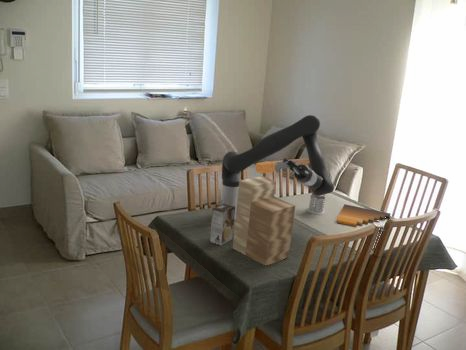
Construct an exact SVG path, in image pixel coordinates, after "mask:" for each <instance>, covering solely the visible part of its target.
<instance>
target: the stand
mask: <svg viewBox="0 0 466 350" xmlns="http://www.w3.org/2000/svg"><path fill="white" fill-rule="evenodd" d="M276 185H277V181H276V180H274V179H272V178H268V177H266V176H263V175H262V176H256V177H251V178H246V179H241V180H240V181H239V190H238V200H237V210H236V219H235V220H234V229H233V239H232V240H233V241H232V249H233V250H235V251H237V252H239V253H240V252H241V255H245V256H246V257H248V258H249V257H250V258H249V259H251V258H252V259H251V260H253V259H254V260H253V261H255V260H256V261H255V262H257V261H258V262H260V263H262V264H263V265H262V264H261V265H262V266H264V265H265V266H264V267H267V266H266V265H268V266H270V265H269V264H271V265H273V264H272V263H274V264H276V263H278V262H277V261H279V262H281V261H280V260H282V261H284V260H283V259H285V258H287V259H289V255H290V248H291V240H292V231H293V226H294V218H295V212H296V211H295V210H296V205H295V204H293V203H290V202H288V201H285V200H282V199H281V198H278V197H277V198H276V197H274V195H275V194H276ZM285 260H286V259H285ZM258 262H257V263H258ZM275 262H276V263H275ZM260 263H259V264H260Z"/></svg>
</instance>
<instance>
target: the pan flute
mask: <svg viewBox="0 0 466 350" xmlns="http://www.w3.org/2000/svg"><path fill="white" fill-rule="evenodd" d="M385 217H386V218H390V217H391V213H390V212H384V211H379V210H374V209H369V208H366V207H365V208H364V207H359V206H356V205H350V204H343V206H342V208H341V210H340V212H339V214H338V216H337V218H336V223H338V224H343V225H346V226H347V225H348V226H353V227H357V225H360V226H363V224H367V225H368V224H369V222H368V221H371V222H370V223H372V222H373V223H374V222H375V221H374V220H379V221H380V218H381V219H384V220H385V219H386V218H385Z"/></svg>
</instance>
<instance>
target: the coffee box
mask: <svg viewBox="0 0 466 350" xmlns="http://www.w3.org/2000/svg"><path fill="white" fill-rule="evenodd" d="M211 212H212V213H211V225H210V238H209V240H210V241H211V242H210V241H209V242H210V243H213V244H215V243H216V244H215V245H218V244H219V246H223V245H225V244H226V243H229V242H230V241H232V240H233V238H234V227H235V220H234V215H235V207H234V206H231V205H227V204H221V205H219V204H218V205H217V206H215V207H213V208H212V211H211Z"/></svg>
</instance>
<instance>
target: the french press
mask: <svg viewBox="0 0 466 350" xmlns="http://www.w3.org/2000/svg"><path fill="white" fill-rule="evenodd" d="M325 196H326V194H324V195H320V196H316V195H314V194H313V192H312V191H311V194H310V198H309V199H310V200H309V205H308V208H307V209H306V211H307V212H308V213H310V214H314V215H324V214H325V213H326V211H325V210H324V208H325V200H326V197H325Z"/></svg>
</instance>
